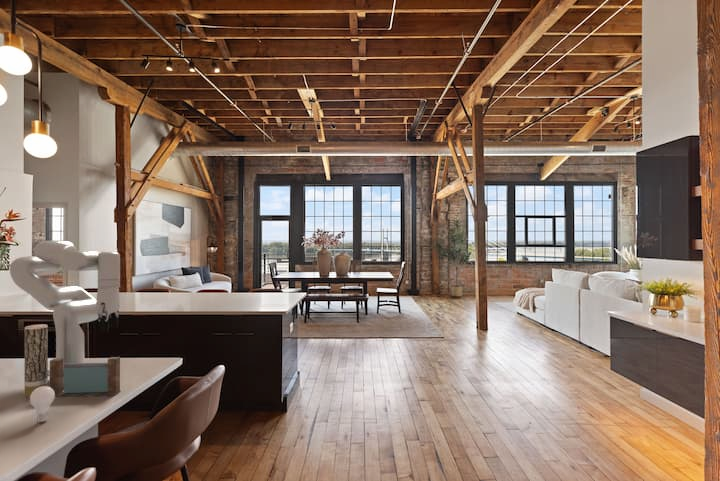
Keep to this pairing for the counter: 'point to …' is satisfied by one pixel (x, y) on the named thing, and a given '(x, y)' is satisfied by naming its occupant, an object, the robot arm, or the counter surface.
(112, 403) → the counter surface
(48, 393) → the lightbulb
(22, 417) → the counter surface
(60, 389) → the gate frame
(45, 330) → the wooden log
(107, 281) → the robot arm
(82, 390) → the gate
